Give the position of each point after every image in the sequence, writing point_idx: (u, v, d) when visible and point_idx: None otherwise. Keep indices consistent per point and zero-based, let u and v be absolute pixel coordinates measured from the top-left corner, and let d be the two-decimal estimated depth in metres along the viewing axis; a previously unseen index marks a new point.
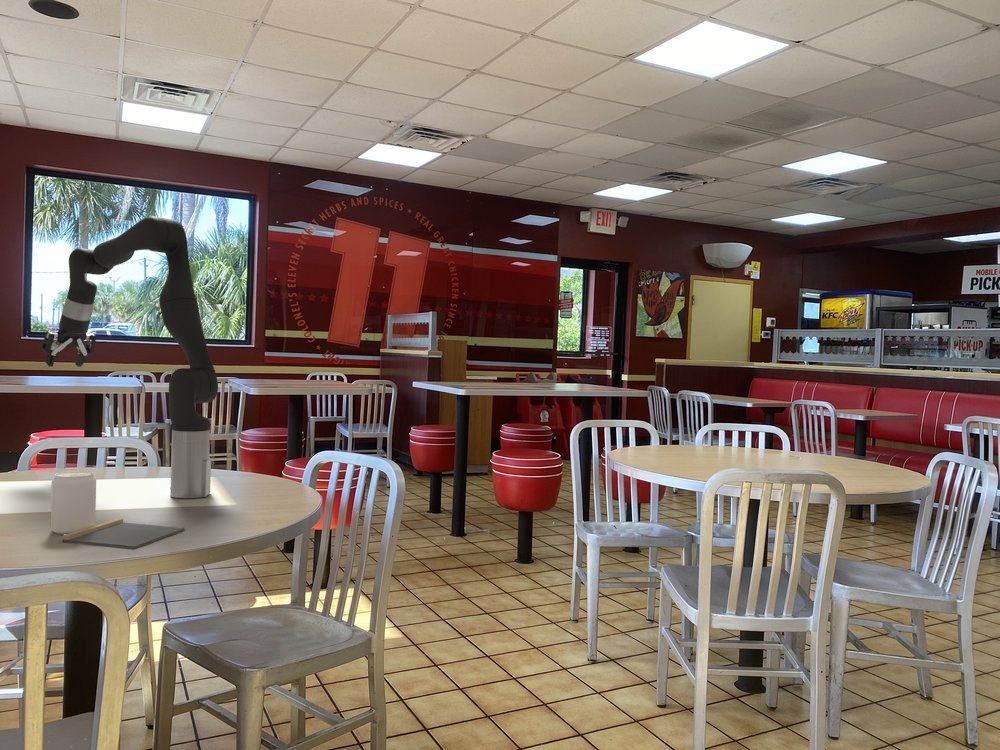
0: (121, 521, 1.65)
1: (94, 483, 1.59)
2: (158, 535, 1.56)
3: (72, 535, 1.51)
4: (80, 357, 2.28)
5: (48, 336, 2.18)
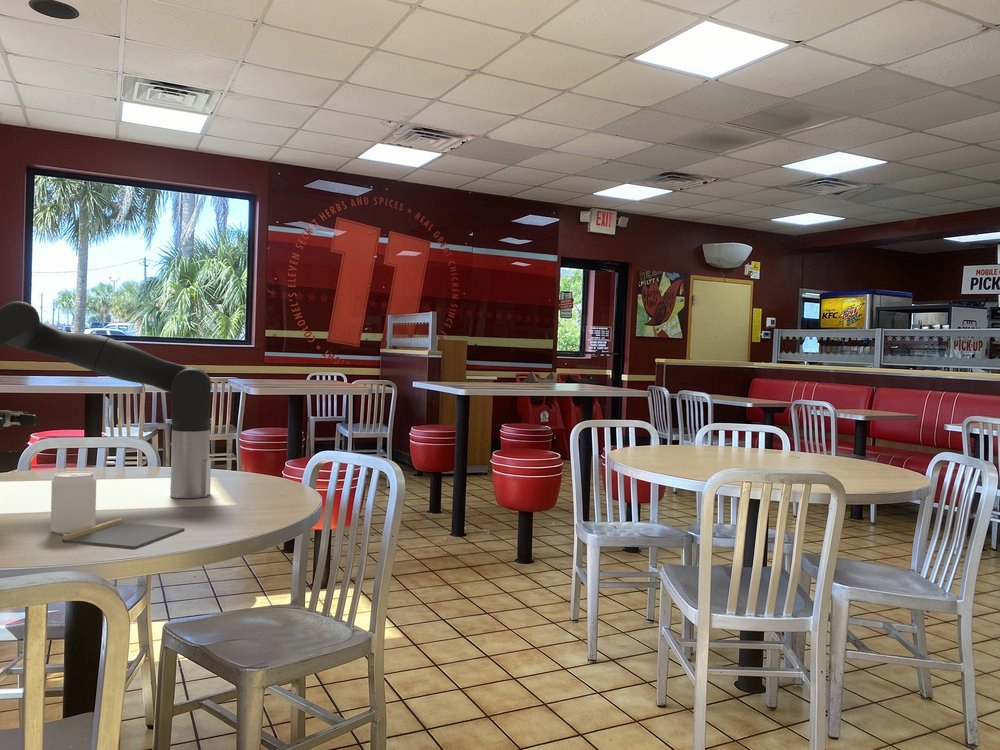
0: (121, 521, 1.65)
1: (94, 483, 1.59)
2: (158, 535, 1.56)
3: (72, 535, 1.51)
4: (22, 416, 1.65)
5: None
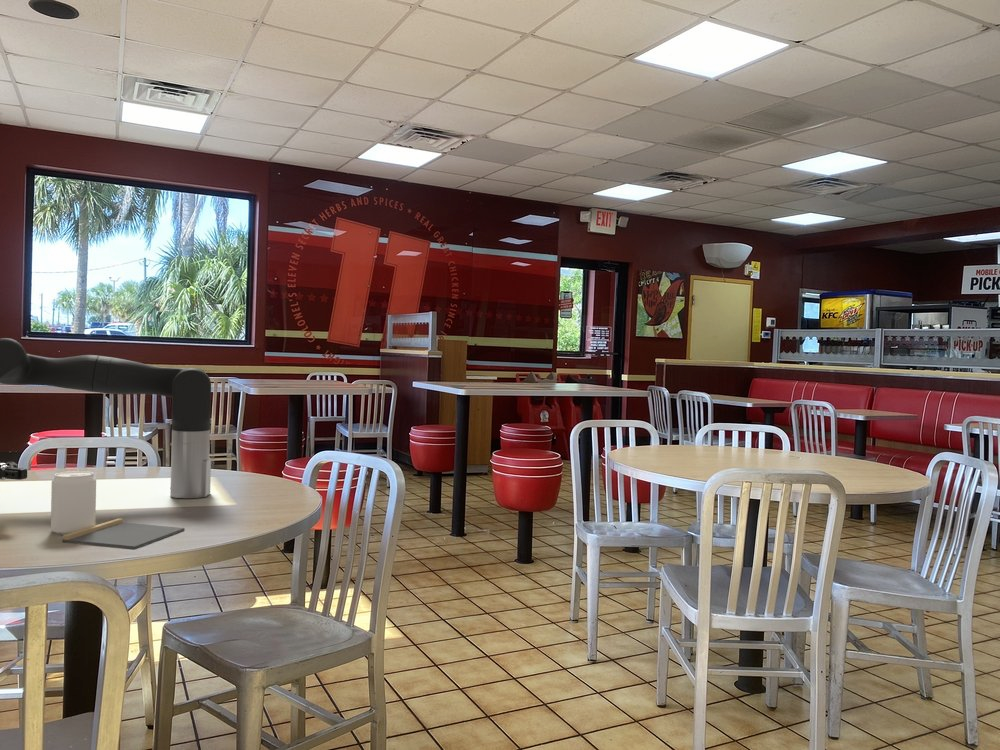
0: (121, 521, 1.65)
1: (94, 483, 1.59)
2: (158, 535, 1.56)
3: (72, 535, 1.51)
4: None
5: None
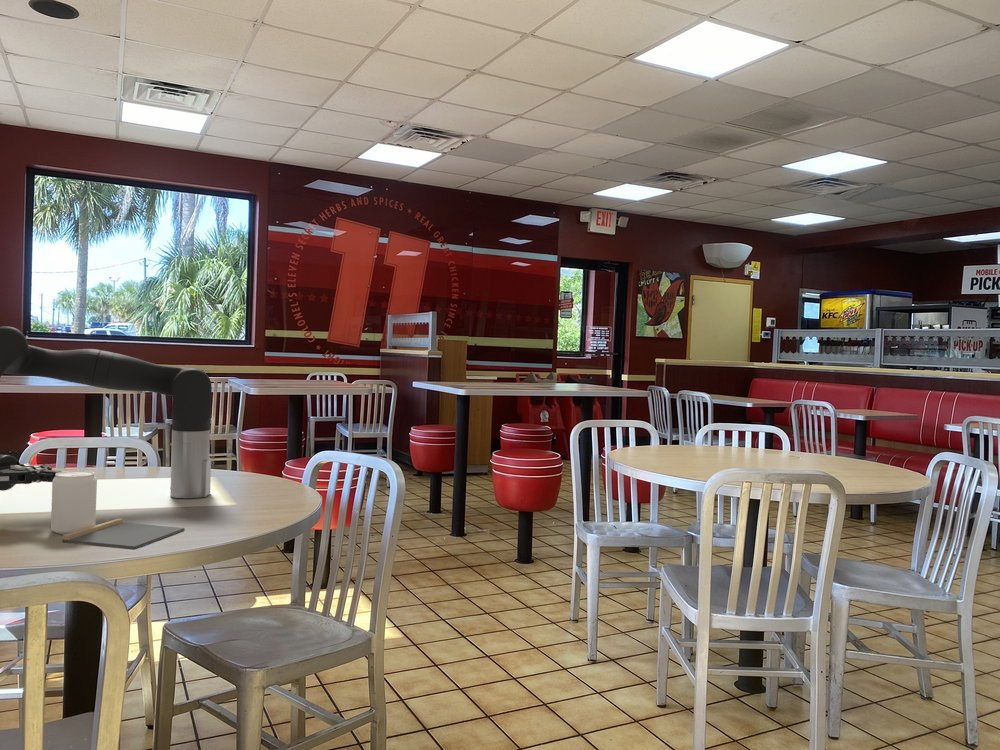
0: (121, 521, 1.65)
1: (95, 483, 1.59)
2: (158, 535, 1.56)
3: (72, 535, 1.51)
4: None
5: (4, 476, 1.55)
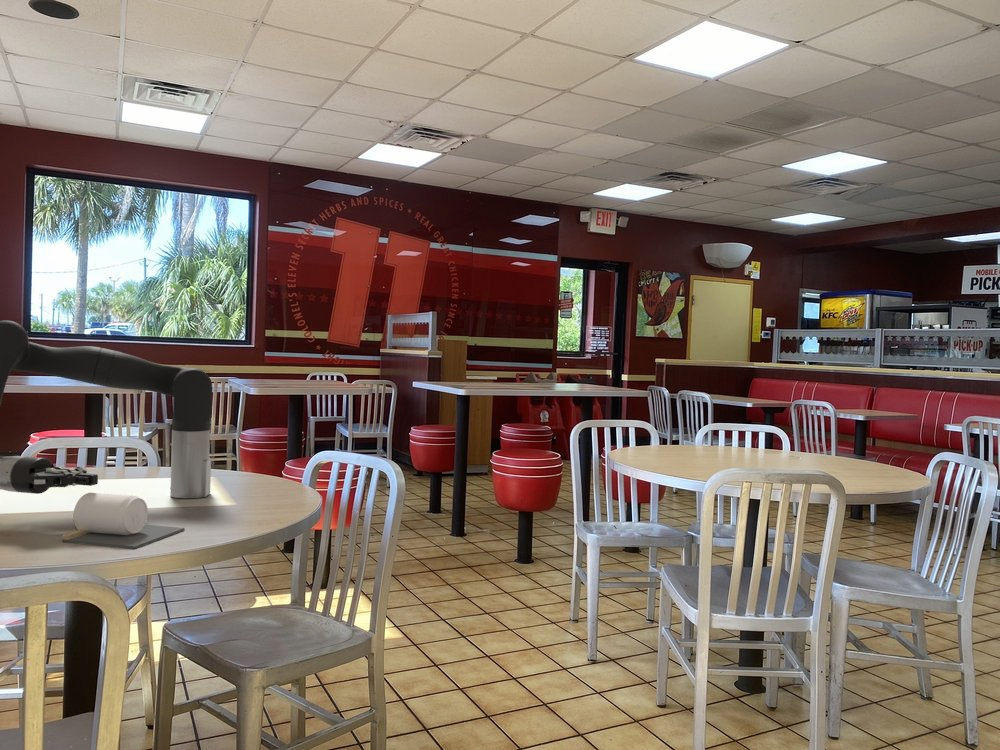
0: None
1: None
2: (158, 535, 1.56)
3: (72, 535, 1.51)
4: None
5: (40, 479, 1.54)
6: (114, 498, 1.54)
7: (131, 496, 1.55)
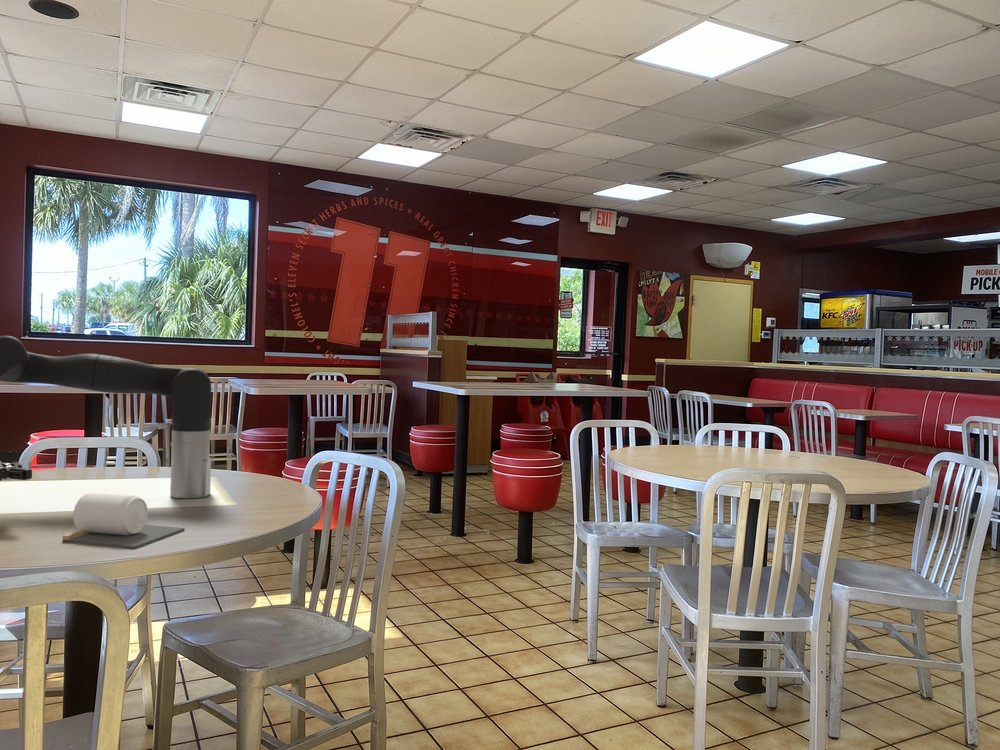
0: None
1: None
2: (158, 535, 1.56)
3: (72, 535, 1.51)
4: None
5: None
6: (114, 498, 1.54)
7: (131, 496, 1.55)
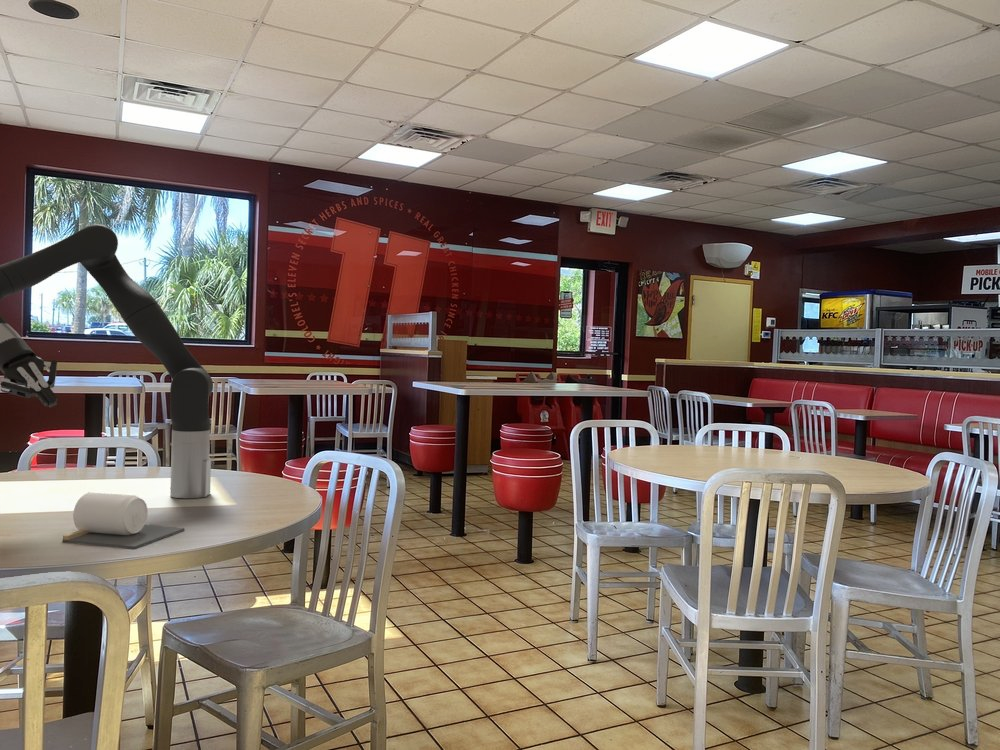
0: None
1: None
2: (158, 535, 1.56)
3: (72, 535, 1.51)
4: None
5: (5, 388, 1.66)
6: (114, 498, 1.54)
7: (131, 496, 1.55)
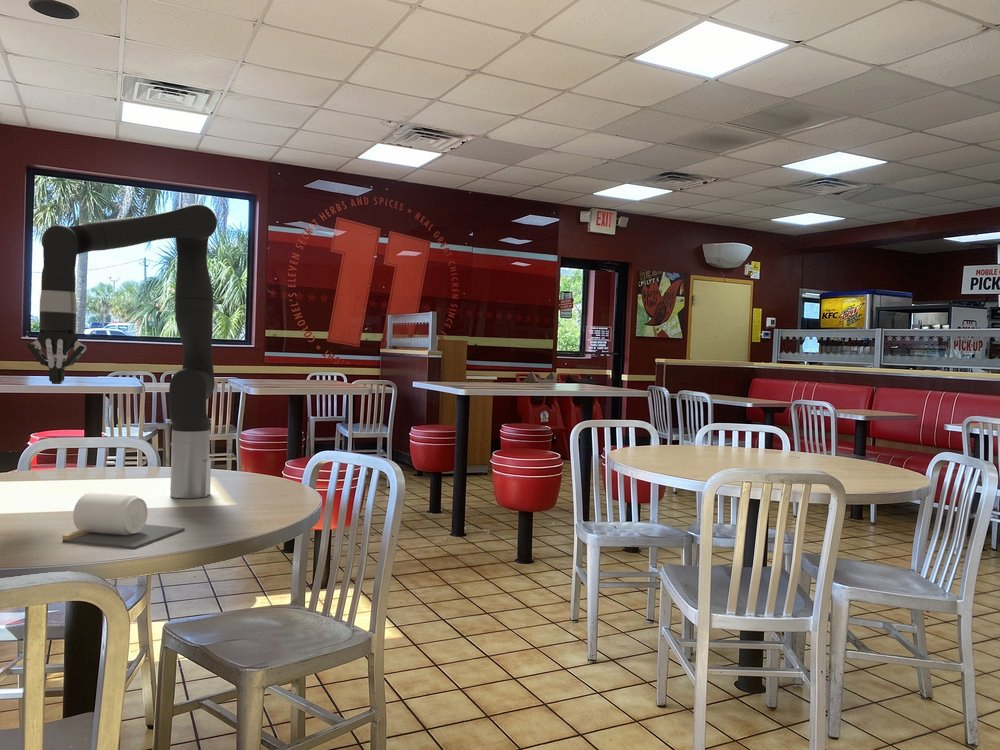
0: None
1: None
2: (158, 535, 1.56)
3: (72, 535, 1.51)
4: None
5: None
6: (114, 498, 1.54)
7: (131, 496, 1.55)
